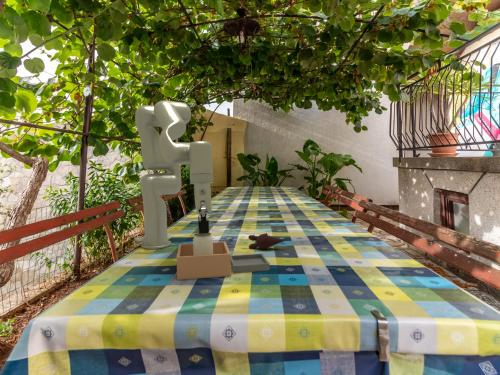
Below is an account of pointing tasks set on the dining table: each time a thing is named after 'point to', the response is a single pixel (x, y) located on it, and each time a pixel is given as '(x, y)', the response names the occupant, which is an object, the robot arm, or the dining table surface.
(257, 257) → the tray
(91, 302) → the dining table surface
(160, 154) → the robot arm
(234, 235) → the dining table surface
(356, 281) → the dining table surface
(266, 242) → the icecream
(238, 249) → the dining table surface
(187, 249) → the brown square frame
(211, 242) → the can
